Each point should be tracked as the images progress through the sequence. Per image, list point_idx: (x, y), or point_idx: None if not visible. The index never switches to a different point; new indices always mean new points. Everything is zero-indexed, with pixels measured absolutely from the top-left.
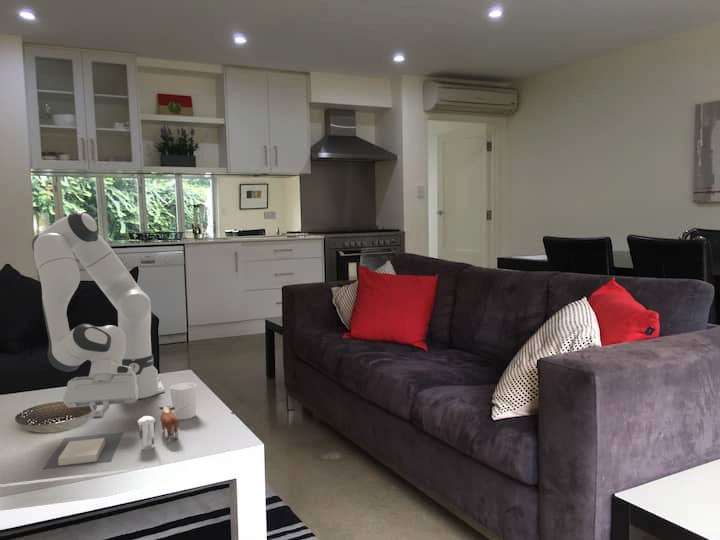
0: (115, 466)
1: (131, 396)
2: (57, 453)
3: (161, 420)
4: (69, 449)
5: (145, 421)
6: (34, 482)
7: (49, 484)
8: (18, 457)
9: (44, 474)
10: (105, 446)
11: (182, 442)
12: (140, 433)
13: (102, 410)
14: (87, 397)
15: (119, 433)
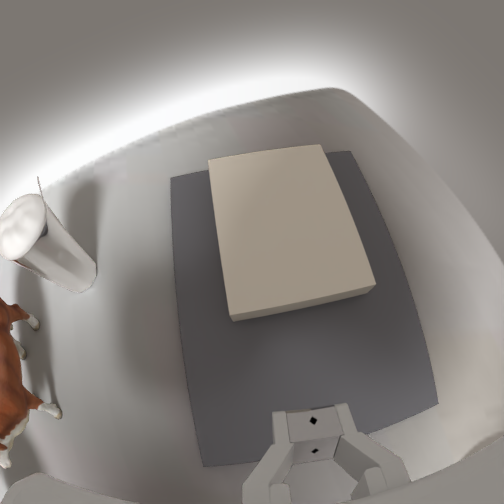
0: (157, 169)
1: (33, 474)
2: (384, 252)
3: (7, 359)
4: (326, 203)
5: (22, 196)
6: (328, 115)
7: (287, 105)
8: (477, 255)
9: (332, 142)
10: (225, 304)
11: None
12: (63, 227)
13: (276, 440)
14: (451, 491)
15: (215, 453)
